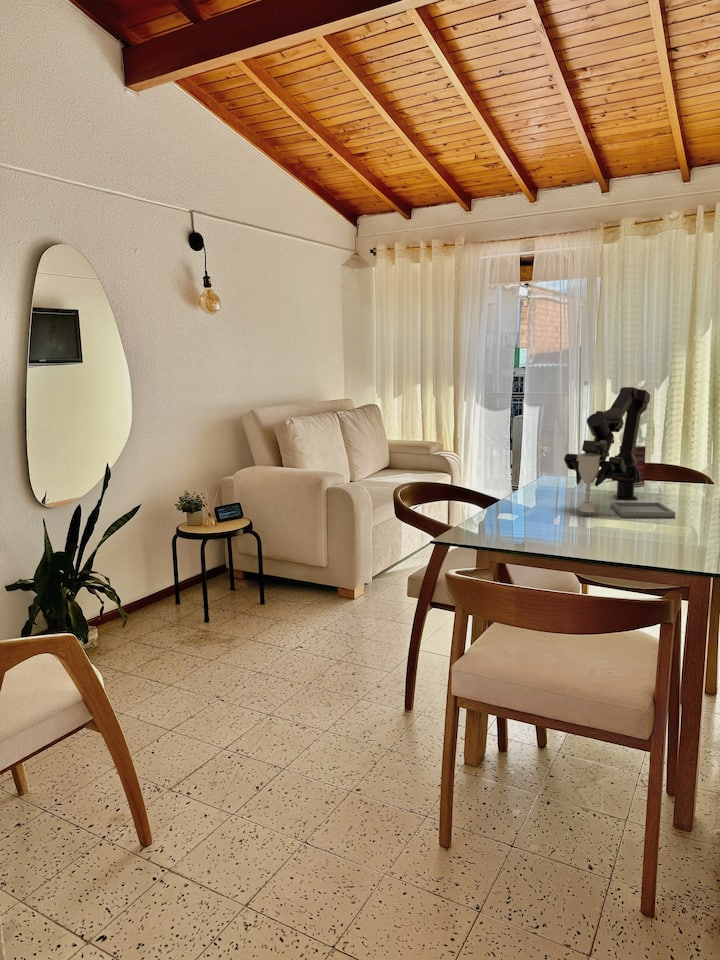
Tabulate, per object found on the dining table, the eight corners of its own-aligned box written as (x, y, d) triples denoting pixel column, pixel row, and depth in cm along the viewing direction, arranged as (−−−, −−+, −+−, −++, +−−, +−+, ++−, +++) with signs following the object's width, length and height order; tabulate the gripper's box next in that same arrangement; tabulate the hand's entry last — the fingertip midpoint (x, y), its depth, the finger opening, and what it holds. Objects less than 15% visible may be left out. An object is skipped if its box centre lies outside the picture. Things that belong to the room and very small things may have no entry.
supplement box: (637, 484, 269) (639, 444, 266) (644, 486, 264) (646, 446, 261) (617, 485, 268) (619, 445, 265) (623, 487, 263) (625, 447, 260)
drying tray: (610, 507, 229) (610, 502, 229) (659, 508, 227) (660, 502, 227) (621, 518, 215) (622, 512, 214) (675, 518, 213) (675, 512, 212)
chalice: (599, 508, 221) (601, 453, 218) (599, 513, 215) (601, 456, 211) (575, 507, 223) (577, 453, 220) (575, 511, 217) (576, 456, 214)
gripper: (566, 429, 223) (551, 467, 217) (624, 432, 211) (609, 472, 205) (576, 449, 231) (561, 487, 224) (632, 453, 219) (618, 493, 212)
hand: (586, 484), depth 216 cm, fingers closed on chalice, 6 cm apart
